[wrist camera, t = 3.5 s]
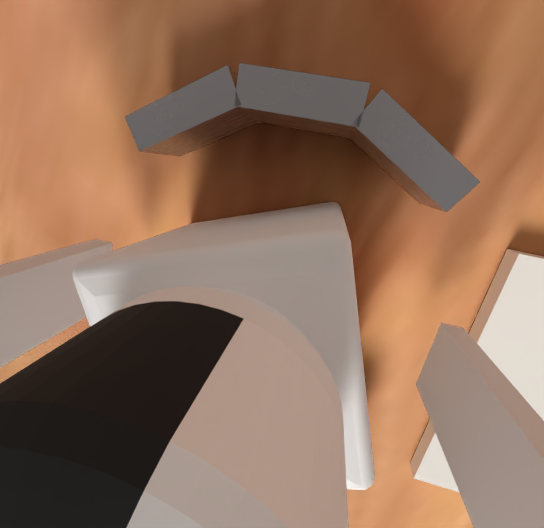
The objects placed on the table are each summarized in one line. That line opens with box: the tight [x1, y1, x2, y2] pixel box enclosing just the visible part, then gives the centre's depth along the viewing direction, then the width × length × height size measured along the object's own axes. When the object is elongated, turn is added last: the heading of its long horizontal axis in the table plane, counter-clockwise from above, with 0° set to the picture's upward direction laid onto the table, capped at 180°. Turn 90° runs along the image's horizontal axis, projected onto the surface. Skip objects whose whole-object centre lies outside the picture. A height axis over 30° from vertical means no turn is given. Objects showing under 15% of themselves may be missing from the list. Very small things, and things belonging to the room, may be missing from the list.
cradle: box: [125, 63, 480, 212], centre depth 13 cm, size 12×16×3 cm
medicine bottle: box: [0, 202, 375, 528], centre depth 9 cm, size 7×7×12 cm
